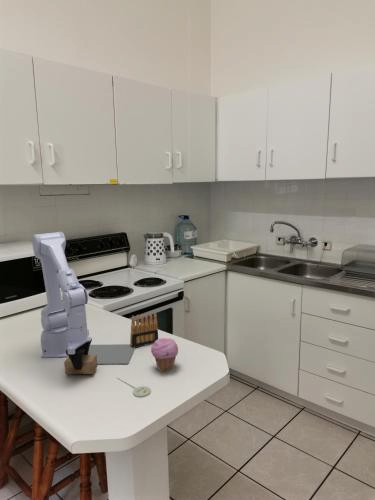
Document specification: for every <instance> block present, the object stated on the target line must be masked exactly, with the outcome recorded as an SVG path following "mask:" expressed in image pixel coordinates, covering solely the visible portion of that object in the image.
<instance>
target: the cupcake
mask: <svg viewBox="0 0 375 500" xmlns="http://www.w3.org/2000/svg"><path fill="white" fill-rule="evenodd" d="M150 350H151V351H150V352H151V354H152V356H153V357H154V359H155V364H156V366H157V367H158V369H159V371H160V372H167V371H170V370H172V369H173V368H174V366H175V363H176V362H175V361H176V357H177V356H178V353H179V347H178V344H177V342H176V341H175V340H174V339H172V338H165V337H164V338H162V337H161V338H158V340H156V341H155V342H154V343H152V344H151V347H150Z"/></svg>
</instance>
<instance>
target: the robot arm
mask: <svg viewBox="0 0 375 500" xmlns="http://www.w3.org/2000/svg"><path fill="white" fill-rule="evenodd" d="M31 244H32V250H33V254H34V257H35V258H36V259H39V260H40V264H41V270H42V275H43V281H44V287H45V294H46V300H47V304H45V306H44V307H43V308H42V309H41V311H40V315H41V316H40V322H41V323H40V324H41V327H42V329H43V330H42V331H41V334H40V346H41V358H68V357H69V358H70V360H71V362H72V364H73V367H74V369H75V370H81V369H82V359H83V355H88V352H89V347H90V345H92V344H91V343H92V340H93V337H92V336H89V335H90V330H89V329H88V322H87V312H86V311H87V310H86V305H87V304H88V302H89V298H88V296H89V295H88V292H87V289H86V288H85V286H83V285H82V284H81V283H80V282H79V279H78V278H77V275H76V272H75V270H74V269H72V268H70V267H69V265H68V261H67V258H66V257H67V256H66V254H65V249H66V245H67V240H66V236H65V234H64V233H63V232H62V231H57V232H47V233H39V234H37V233H35V234H34V235H33V236H32V243H31ZM61 292H62V293H61Z"/></svg>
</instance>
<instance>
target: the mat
mask: <svg viewBox="0 0 375 500" xmlns="http://www.w3.org/2000/svg"><path fill="white" fill-rule="evenodd" d="M135 350H136V347H133V348H132V347H131V346H130V344H129V343H128V344H126V343H125V344H121V343H120V344H115V343H114V344H113V343H112V344H90V347H89V352H88V355H97V364H98V366H99V365H101V366H102V365H103V366H104V365H105V366H106V365H107V366H108V365H110V366H111V365H112V366H113V365H115V366H116V365H117V366H118V365H120V366H121V365H124V366H126V365H129V363H130V361H131V359H132V356H133V354H134V351H135Z"/></svg>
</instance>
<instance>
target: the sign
mask: <svg viewBox="0 0 375 500" xmlns="http://www.w3.org/2000/svg"><path fill="white" fill-rule="evenodd" d="M116 379H117V380H119V381H121V382H123V383H124V384H126V385H127V386H129V387H131V388H133V390H132V394H133V396H134V397H136V398H146V397H148V396H150V394H151V393H152V389H151V387H149V386H146V385H145V386H144V385H142V386H137V387H134V386H133V385H131V384H129V383H127V382H126V381H124V380H122V379H120V378H118V377H116Z"/></svg>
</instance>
